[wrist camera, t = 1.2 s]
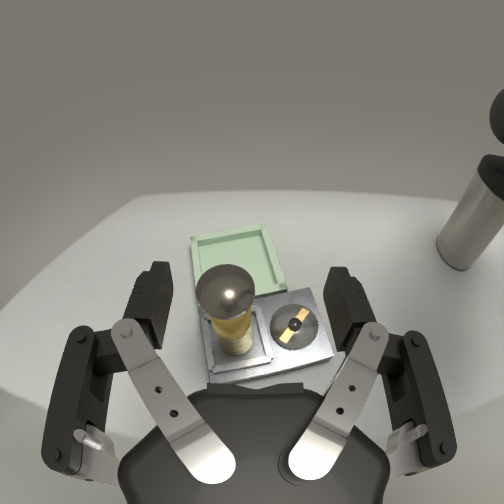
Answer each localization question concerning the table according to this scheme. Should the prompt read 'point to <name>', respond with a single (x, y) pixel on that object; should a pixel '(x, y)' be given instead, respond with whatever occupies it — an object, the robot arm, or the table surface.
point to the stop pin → (228, 305)
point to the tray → (241, 256)
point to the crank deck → (271, 339)
